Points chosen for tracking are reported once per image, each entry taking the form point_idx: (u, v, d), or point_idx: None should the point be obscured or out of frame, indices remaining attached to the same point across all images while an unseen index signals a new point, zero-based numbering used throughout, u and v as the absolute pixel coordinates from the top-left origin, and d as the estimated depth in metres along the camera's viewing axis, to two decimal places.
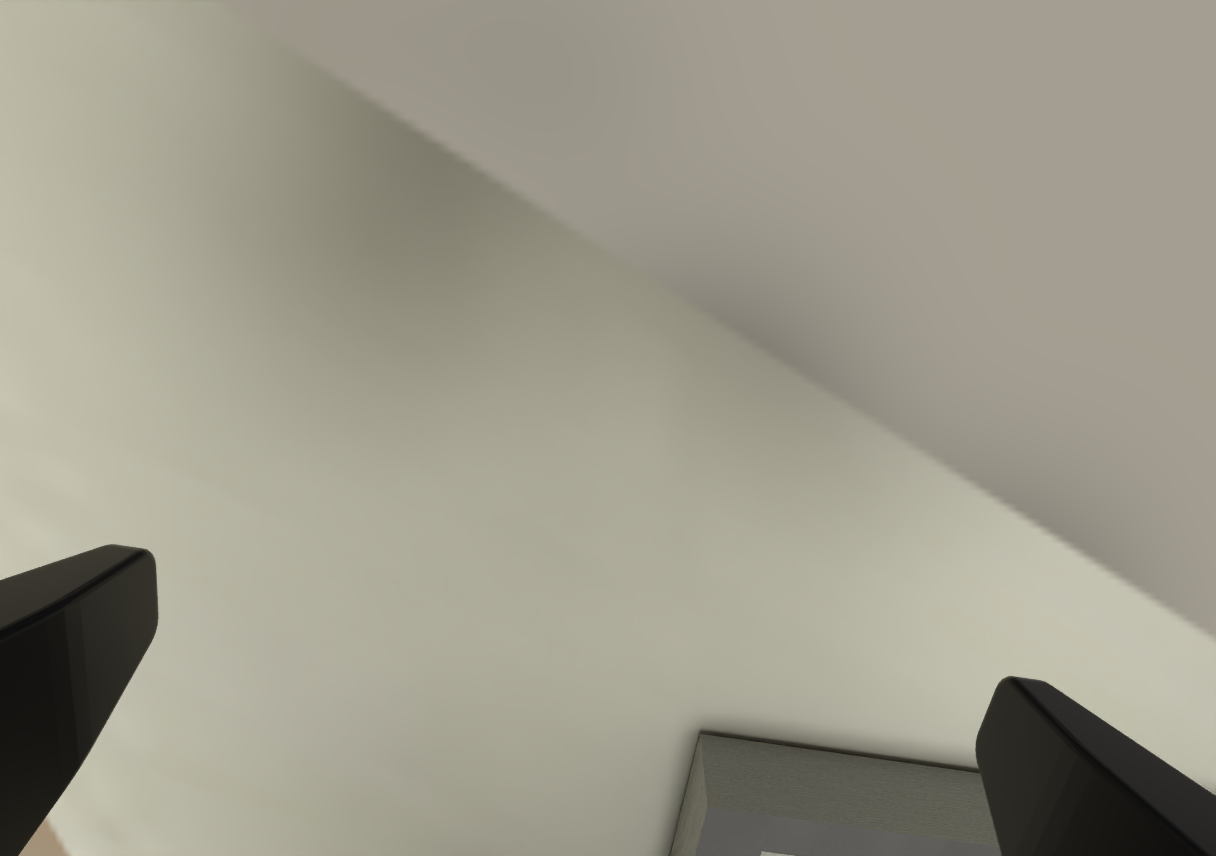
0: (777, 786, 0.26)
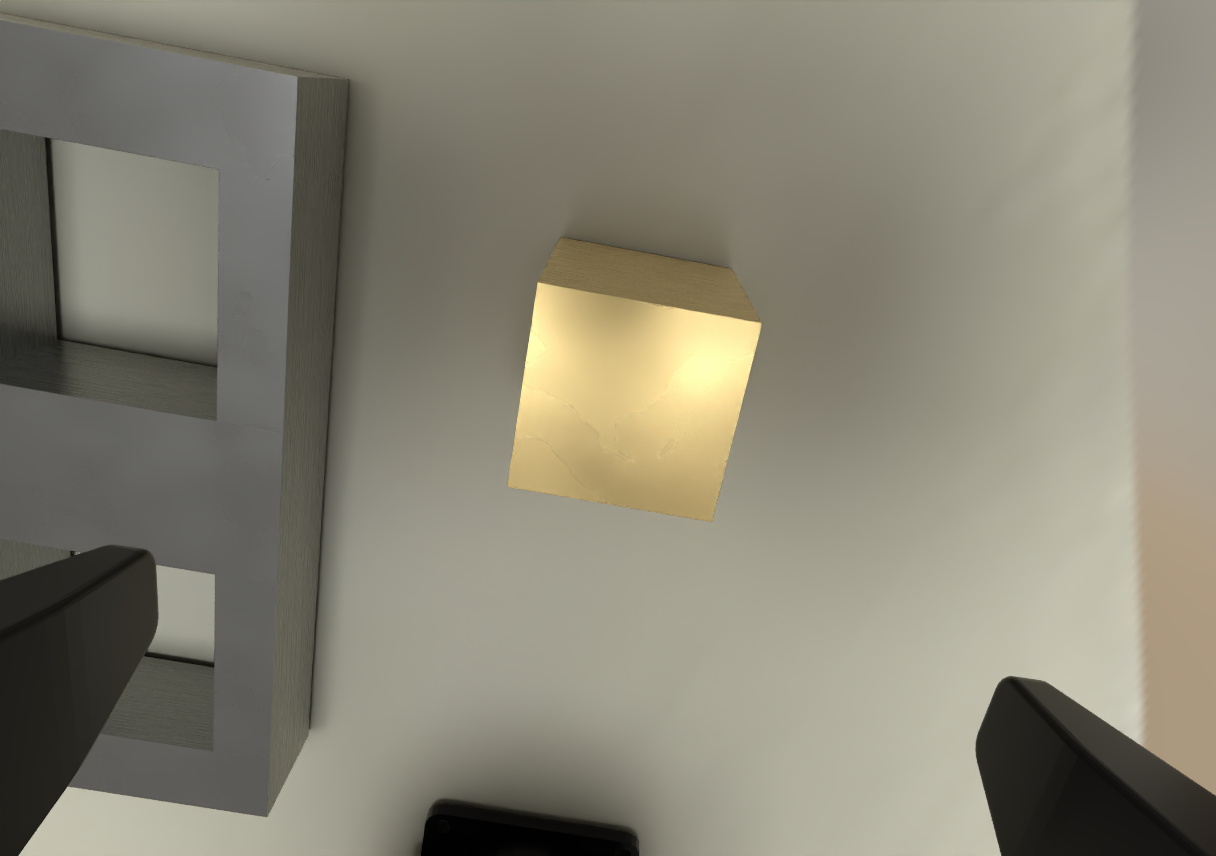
0: None
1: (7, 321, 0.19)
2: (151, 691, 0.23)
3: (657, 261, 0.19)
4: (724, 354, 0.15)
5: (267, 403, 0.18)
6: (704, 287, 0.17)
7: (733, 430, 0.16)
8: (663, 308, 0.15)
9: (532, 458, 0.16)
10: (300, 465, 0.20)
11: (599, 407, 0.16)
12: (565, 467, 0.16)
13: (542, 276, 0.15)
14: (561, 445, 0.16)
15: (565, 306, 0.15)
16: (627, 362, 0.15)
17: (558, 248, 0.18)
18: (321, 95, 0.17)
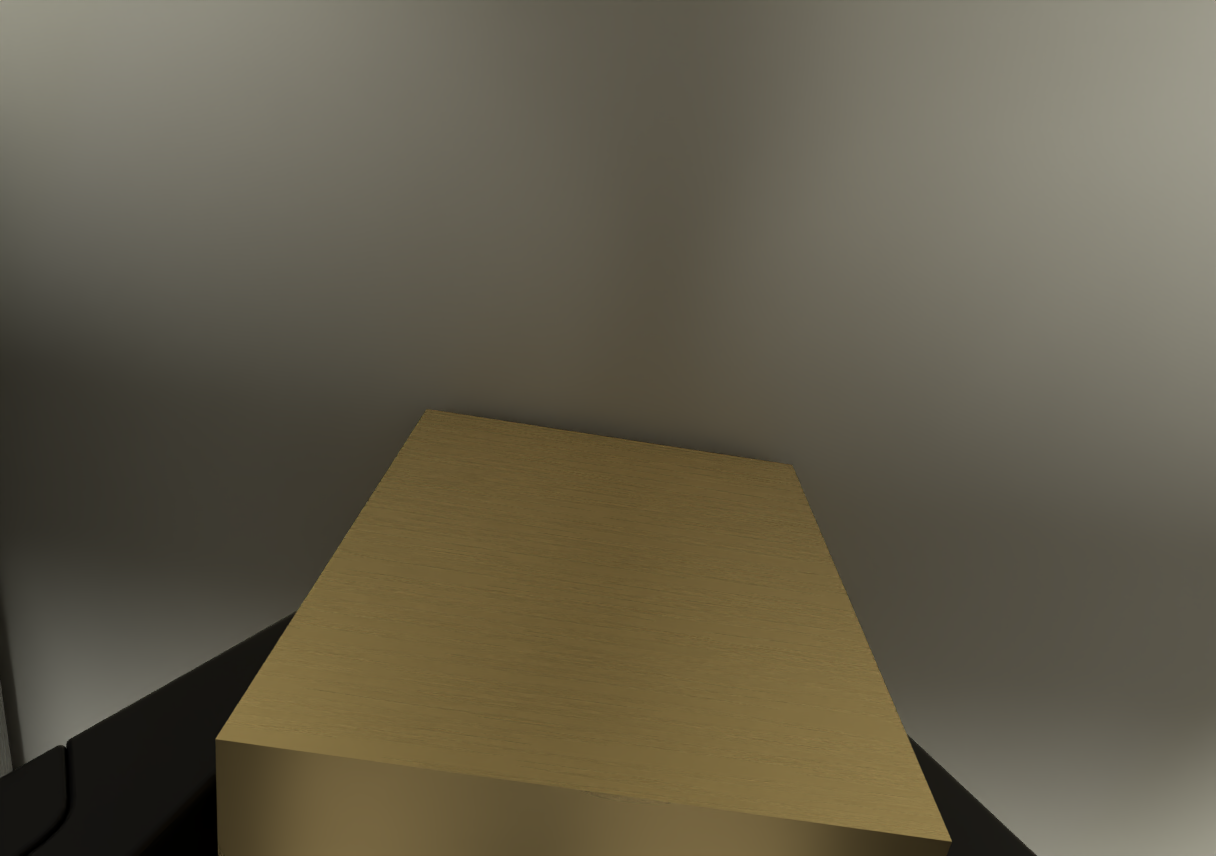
0: None
1: None
2: None
3: (632, 472, 0.08)
4: None
5: None
6: (745, 589, 0.07)
7: None
8: (633, 805, 0.05)
9: None
10: None
11: None
12: None
13: (262, 673, 0.05)
14: None
15: (319, 801, 0.05)
16: None
17: (400, 463, 0.08)
18: None
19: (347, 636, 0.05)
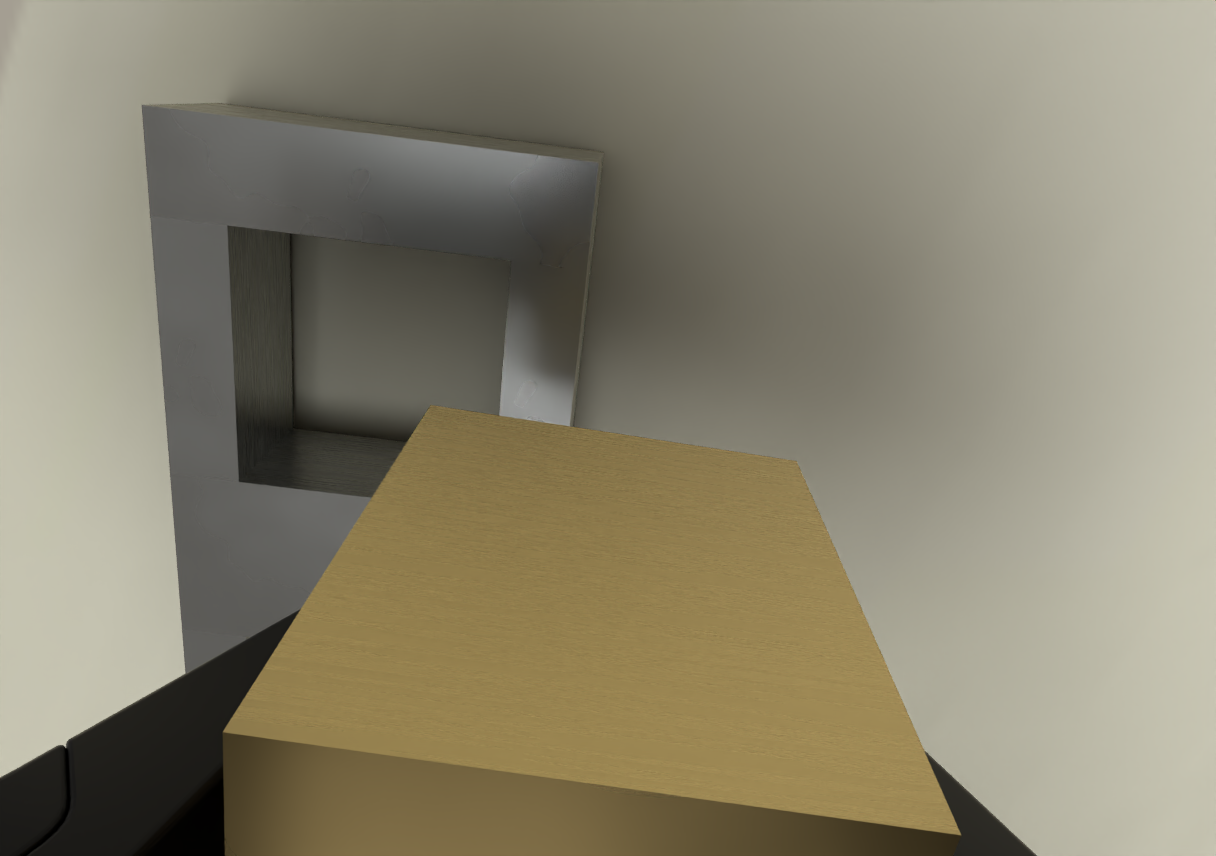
0: None
1: (264, 418, 0.18)
2: None
3: (636, 468, 0.08)
4: None
5: None
6: (751, 584, 0.07)
7: None
8: (639, 799, 0.05)
9: None
10: None
11: None
12: None
13: (269, 666, 0.05)
14: None
15: (326, 793, 0.05)
16: None
17: (404, 459, 0.08)
18: (599, 175, 0.16)
19: (353, 630, 0.05)
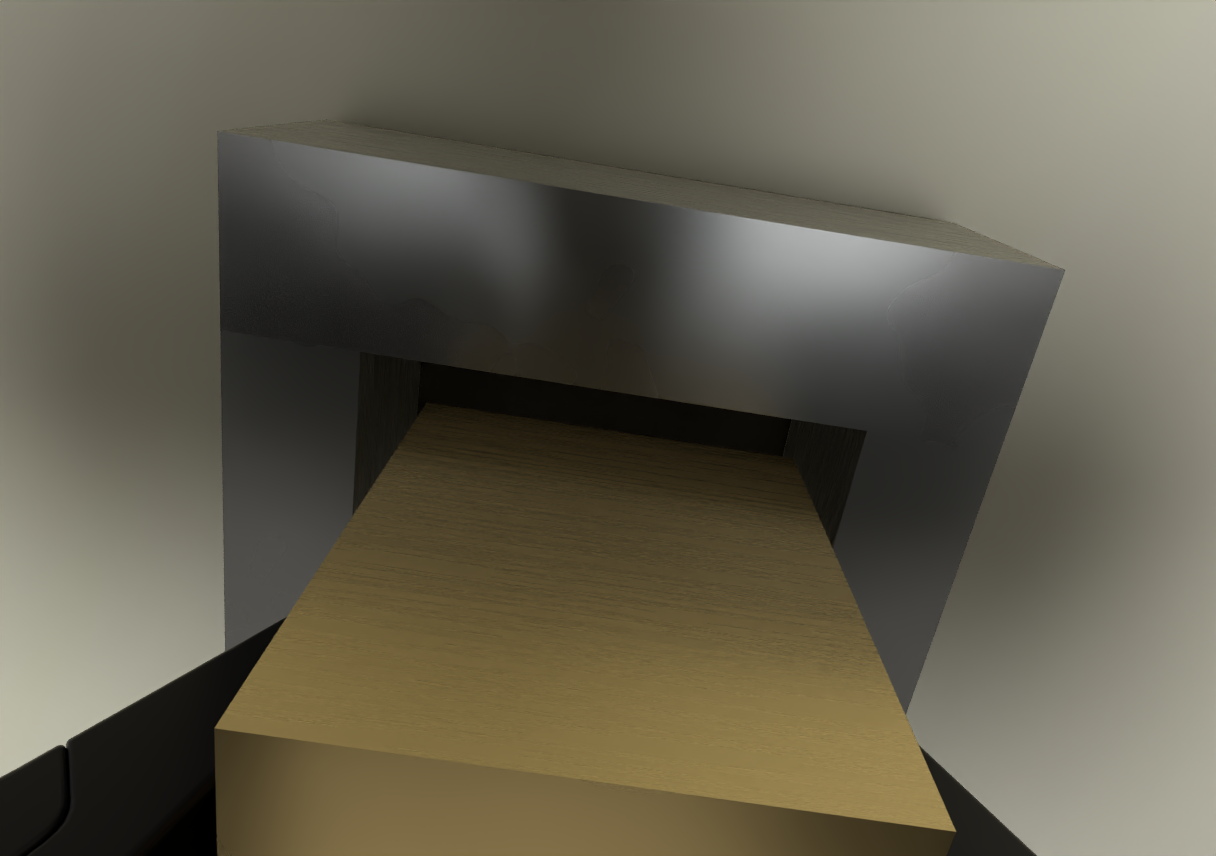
0: None
1: None
2: None
3: (633, 465, 0.08)
4: None
5: None
6: (747, 582, 0.07)
7: None
8: (634, 795, 0.05)
9: None
10: None
11: None
12: None
13: (262, 662, 0.05)
14: None
15: (318, 789, 0.05)
16: None
17: (400, 456, 0.08)
18: None
19: (347, 626, 0.05)
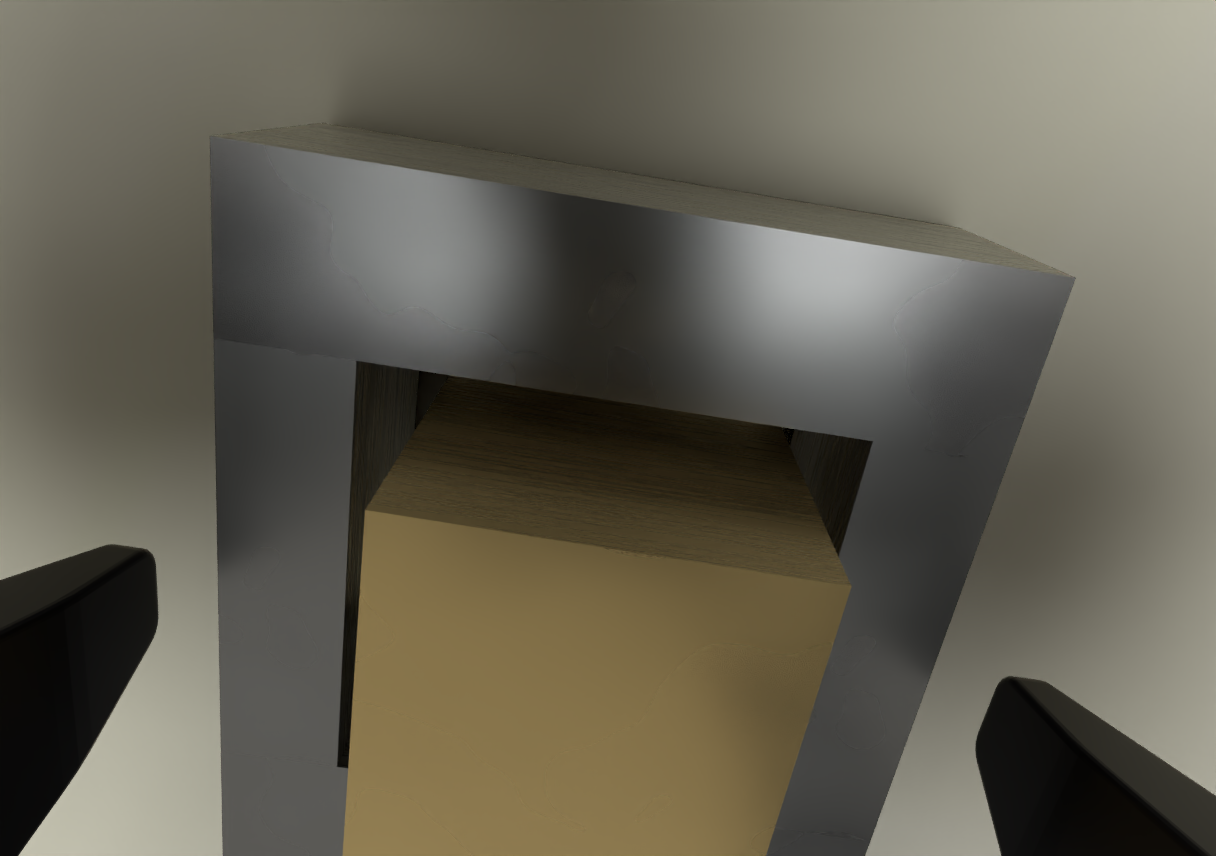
0: None
1: None
2: None
3: None
4: (770, 642, 0.07)
5: (855, 800, 0.10)
6: (721, 457, 0.09)
7: (785, 768, 0.08)
8: (639, 559, 0.07)
9: (386, 824, 0.08)
10: None
11: (514, 738, 0.08)
12: (453, 838, 0.08)
13: (387, 481, 0.07)
14: (441, 804, 0.08)
15: (430, 556, 0.07)
16: (567, 659, 0.07)
17: None
18: None
19: (439, 466, 0.08)
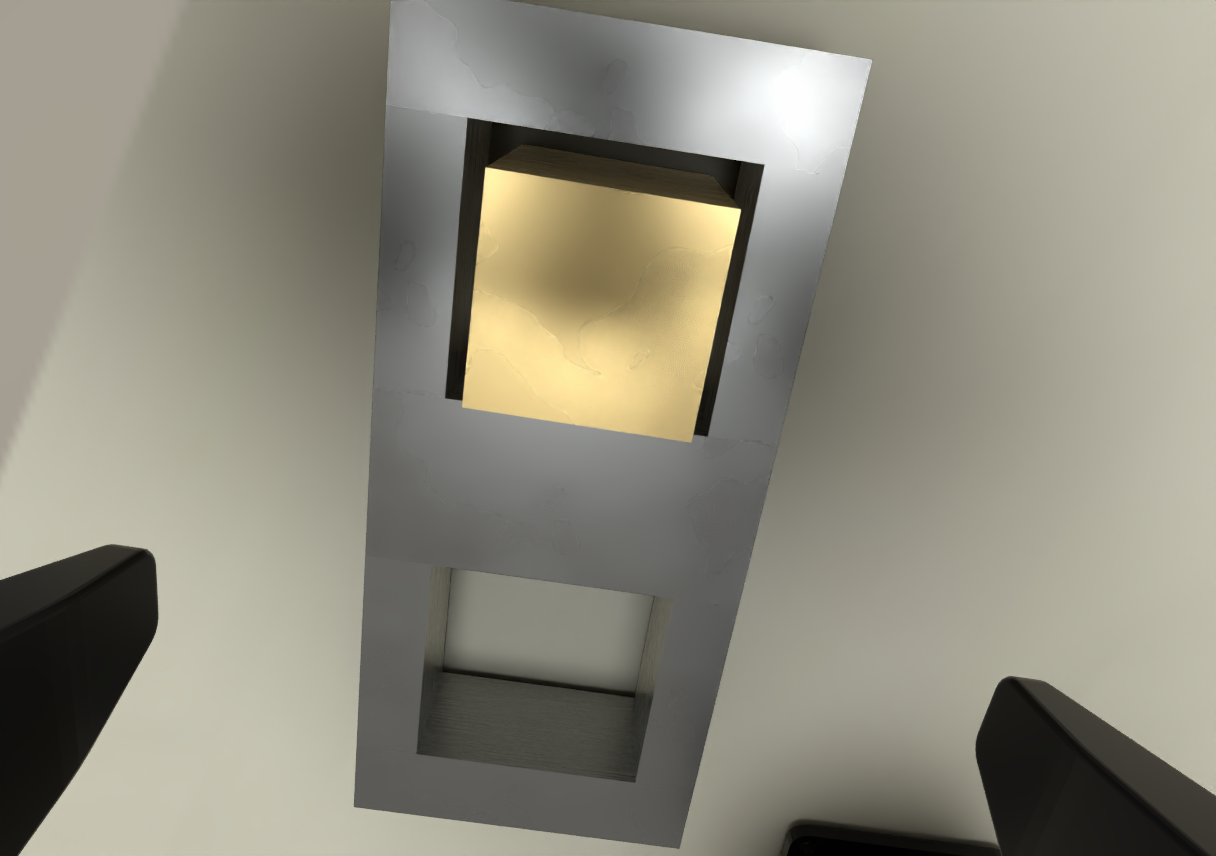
0: None
1: (461, 335, 0.17)
2: (540, 719, 0.22)
3: (629, 165, 0.17)
4: (700, 246, 0.13)
5: (767, 416, 0.17)
6: (679, 184, 0.15)
7: (712, 336, 0.14)
8: (629, 195, 0.13)
9: (488, 374, 0.14)
10: None
11: (561, 312, 0.14)
12: (525, 383, 0.14)
13: (492, 164, 0.14)
14: (519, 358, 0.14)
15: (518, 194, 0.13)
16: (591, 259, 0.14)
17: (518, 150, 0.16)
18: None
19: (518, 165, 0.14)
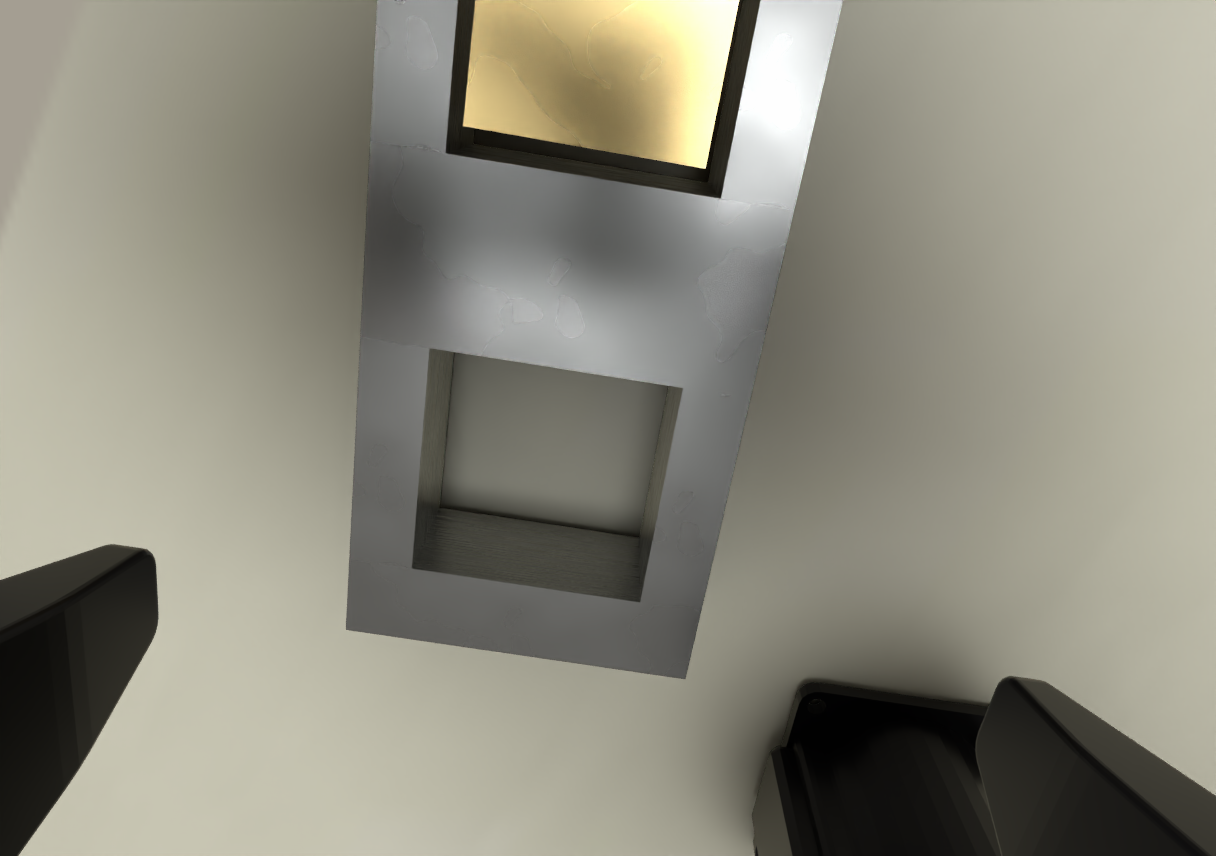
0: None
1: (463, 101, 0.17)
2: (541, 548, 0.21)
3: None
4: None
5: (783, 174, 0.16)
6: None
7: (729, 45, 0.13)
8: None
9: (491, 86, 0.14)
10: None
11: (569, 12, 0.13)
12: (531, 97, 0.14)
13: None
14: (525, 67, 0.13)
15: None
16: None
17: None
18: None
19: None
